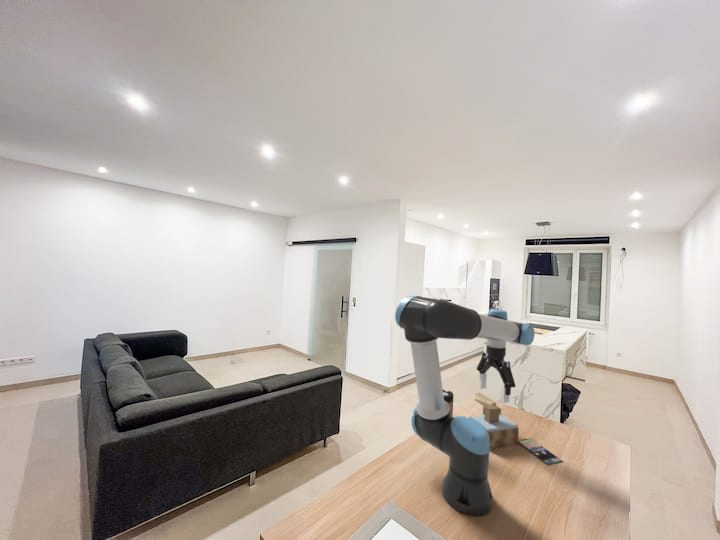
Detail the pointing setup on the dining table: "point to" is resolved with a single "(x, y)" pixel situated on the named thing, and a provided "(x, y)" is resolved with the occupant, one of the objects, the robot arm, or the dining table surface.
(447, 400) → the travel mug
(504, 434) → the open wooden box
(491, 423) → the lid
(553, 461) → the smartphone
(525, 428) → the dining table surface
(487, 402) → the beige rectangular block
